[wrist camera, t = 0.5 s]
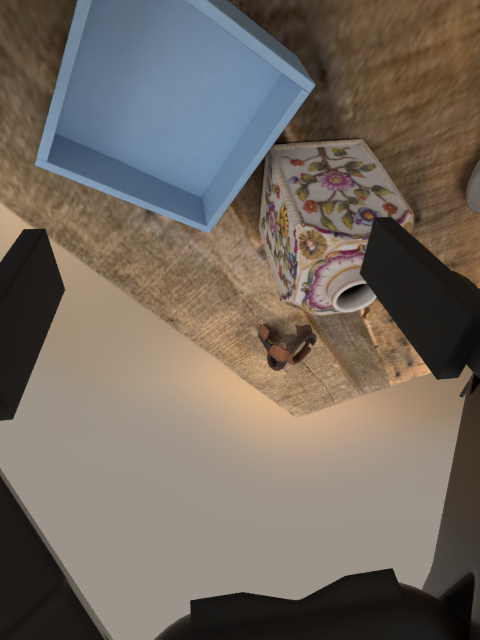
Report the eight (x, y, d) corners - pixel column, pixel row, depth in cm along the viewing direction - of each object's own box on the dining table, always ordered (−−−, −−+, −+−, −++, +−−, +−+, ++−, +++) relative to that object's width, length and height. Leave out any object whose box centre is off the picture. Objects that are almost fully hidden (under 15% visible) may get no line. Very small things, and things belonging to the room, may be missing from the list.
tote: (103, -101, 25) (99, -85, 21) (297, 57, 34) (316, 85, 31) (43, 131, 35) (34, 165, 32) (203, 201, 45) (209, 233, 42)
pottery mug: (262, 312, 67) (295, 339, 62) (295, 300, 73) (327, 324, 68) (245, 360, 74) (274, 387, 69) (277, 345, 80) (305, 370, 75)
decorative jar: (256, 227, 50) (288, 339, 39) (263, 142, 40) (308, 261, 30) (341, 219, 51) (394, 325, 41) (367, 135, 42) (444, 246, 31)
